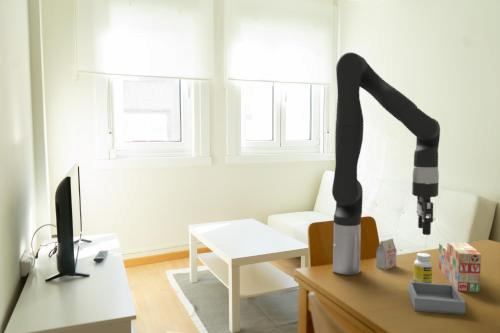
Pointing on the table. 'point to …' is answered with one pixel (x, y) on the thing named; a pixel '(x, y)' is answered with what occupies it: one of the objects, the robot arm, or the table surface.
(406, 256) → the table surface
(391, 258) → the herbal tea box
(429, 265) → the supplement bottle
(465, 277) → the stack of blocks
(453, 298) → the box
